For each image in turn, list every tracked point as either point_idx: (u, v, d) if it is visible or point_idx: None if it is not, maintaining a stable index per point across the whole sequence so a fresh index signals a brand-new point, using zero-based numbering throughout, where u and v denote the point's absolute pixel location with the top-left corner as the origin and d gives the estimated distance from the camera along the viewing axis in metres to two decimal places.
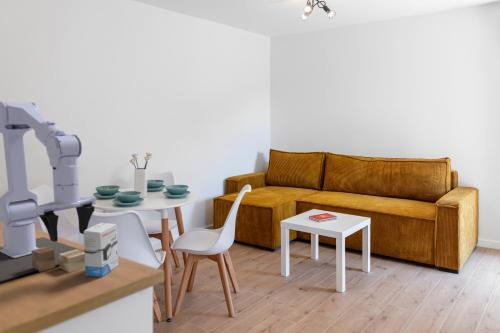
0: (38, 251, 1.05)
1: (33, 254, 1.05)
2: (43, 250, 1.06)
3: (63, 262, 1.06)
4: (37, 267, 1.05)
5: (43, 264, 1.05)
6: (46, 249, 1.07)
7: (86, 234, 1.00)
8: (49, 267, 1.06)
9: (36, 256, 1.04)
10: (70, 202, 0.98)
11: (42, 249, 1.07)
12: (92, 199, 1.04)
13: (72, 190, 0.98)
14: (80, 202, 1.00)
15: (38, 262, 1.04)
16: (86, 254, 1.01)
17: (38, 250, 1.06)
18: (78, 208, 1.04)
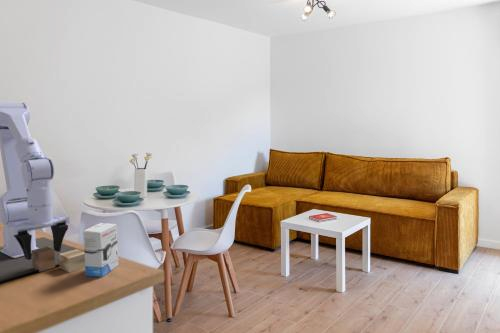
0: (38, 251, 1.05)
1: (33, 254, 1.05)
2: (43, 250, 1.06)
3: (63, 262, 1.06)
4: (37, 267, 1.05)
5: (43, 264, 1.05)
6: (46, 249, 1.07)
7: (86, 234, 1.00)
8: (49, 267, 1.06)
9: (36, 256, 1.04)
10: (43, 222, 1.03)
11: (42, 249, 1.07)
12: (66, 218, 1.10)
13: (45, 211, 1.03)
14: (53, 221, 1.06)
15: (38, 262, 1.04)
16: (86, 254, 1.01)
17: (38, 250, 1.06)
18: (52, 227, 1.09)
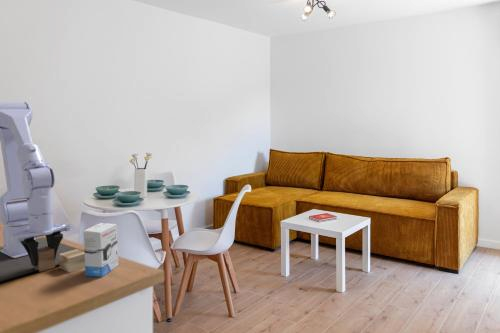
0: (38, 250, 1.05)
1: None
2: (43, 249, 1.06)
3: (63, 262, 1.06)
4: (37, 267, 1.05)
5: (43, 263, 1.05)
6: (46, 248, 1.07)
7: (86, 234, 1.00)
8: (49, 267, 1.06)
9: None
10: (44, 230, 1.03)
11: (42, 249, 1.07)
12: (66, 226, 1.10)
13: (45, 219, 1.03)
14: (54, 230, 1.06)
15: (38, 262, 1.04)
16: (86, 254, 1.01)
17: (38, 250, 1.06)
18: (47, 236, 1.09)
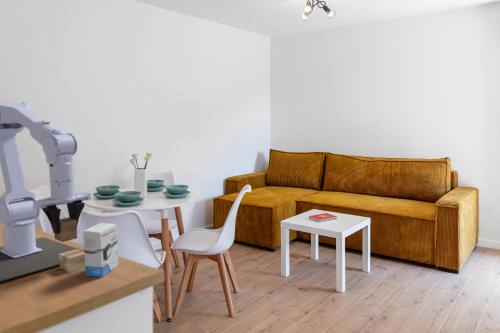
0: (60, 221, 1.04)
1: None
2: (66, 220, 1.05)
3: (63, 262, 1.06)
4: (60, 237, 1.04)
5: (66, 234, 1.04)
6: (68, 219, 1.06)
7: (86, 234, 1.00)
8: (71, 238, 1.05)
9: None
10: (66, 197, 1.02)
11: (64, 219, 1.06)
12: (87, 195, 1.09)
13: (67, 186, 1.03)
14: (75, 198, 1.05)
15: (61, 232, 1.03)
16: (86, 254, 1.01)
17: (60, 220, 1.05)
18: (69, 205, 1.08)
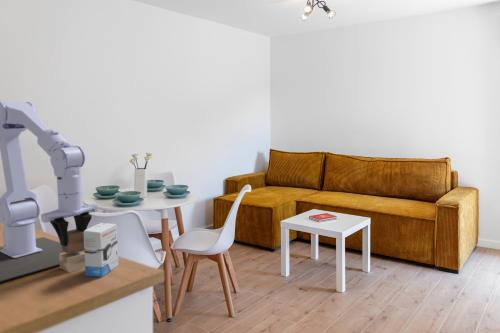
0: (68, 233, 1.05)
1: None
2: (73, 232, 1.06)
3: (62, 262, 1.06)
4: (67, 249, 1.04)
5: (73, 246, 1.04)
6: (76, 231, 1.06)
7: (86, 234, 1.00)
8: (79, 250, 1.06)
9: (67, 239, 1.04)
10: (73, 210, 1.03)
11: (72, 231, 1.06)
12: (94, 207, 1.10)
13: (75, 199, 1.03)
14: (83, 210, 1.06)
15: (68, 244, 1.04)
16: (86, 254, 1.01)
17: (68, 232, 1.05)
18: (76, 216, 1.08)
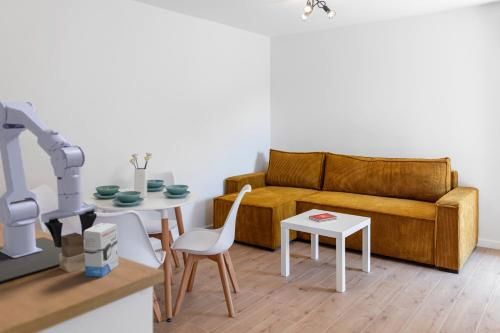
0: (68, 236, 1.05)
1: (63, 240, 1.05)
2: (73, 235, 1.06)
3: (62, 262, 1.06)
4: (67, 253, 1.04)
5: (73, 249, 1.05)
6: (76, 234, 1.07)
7: (86, 234, 1.00)
8: (78, 253, 1.06)
9: (66, 242, 1.04)
10: (73, 210, 1.03)
11: (71, 235, 1.06)
12: (94, 207, 1.10)
13: (75, 199, 1.03)
14: (83, 210, 1.06)
15: (68, 247, 1.04)
16: (86, 254, 1.01)
17: (67, 236, 1.06)
18: (81, 215, 1.09)
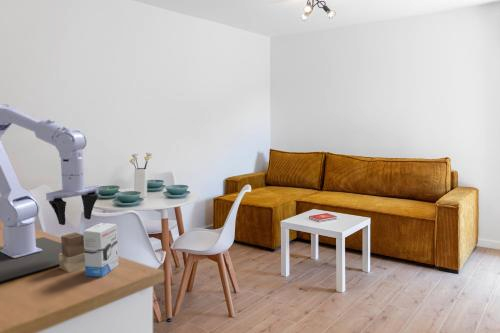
0: (68, 236, 1.05)
1: (63, 240, 1.05)
2: (73, 235, 1.06)
3: (62, 262, 1.06)
4: (67, 252, 1.05)
5: (73, 249, 1.05)
6: (76, 234, 1.07)
7: (86, 234, 1.00)
8: (79, 253, 1.06)
9: (66, 242, 1.04)
10: (76, 190, 1.11)
11: (71, 235, 1.06)
12: (95, 188, 1.17)
13: (78, 180, 1.11)
14: (85, 190, 1.13)
15: (68, 247, 1.04)
16: (86, 254, 1.01)
17: (68, 236, 1.06)
18: (83, 196, 1.17)
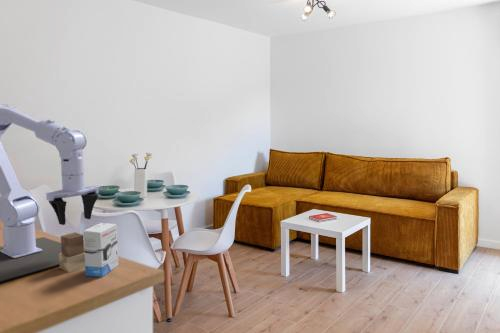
0: (67, 236, 1.05)
1: (62, 239, 1.05)
2: (73, 235, 1.06)
3: (62, 262, 1.06)
4: (67, 252, 1.05)
5: (73, 249, 1.05)
6: (75, 234, 1.07)
7: (86, 234, 1.00)
8: (78, 253, 1.06)
9: (66, 242, 1.04)
10: (76, 190, 1.11)
11: (71, 235, 1.06)
12: (96, 188, 1.17)
13: (78, 179, 1.11)
14: (85, 190, 1.13)
15: (68, 247, 1.04)
16: (86, 254, 1.01)
17: (67, 235, 1.06)
18: (83, 196, 1.17)
